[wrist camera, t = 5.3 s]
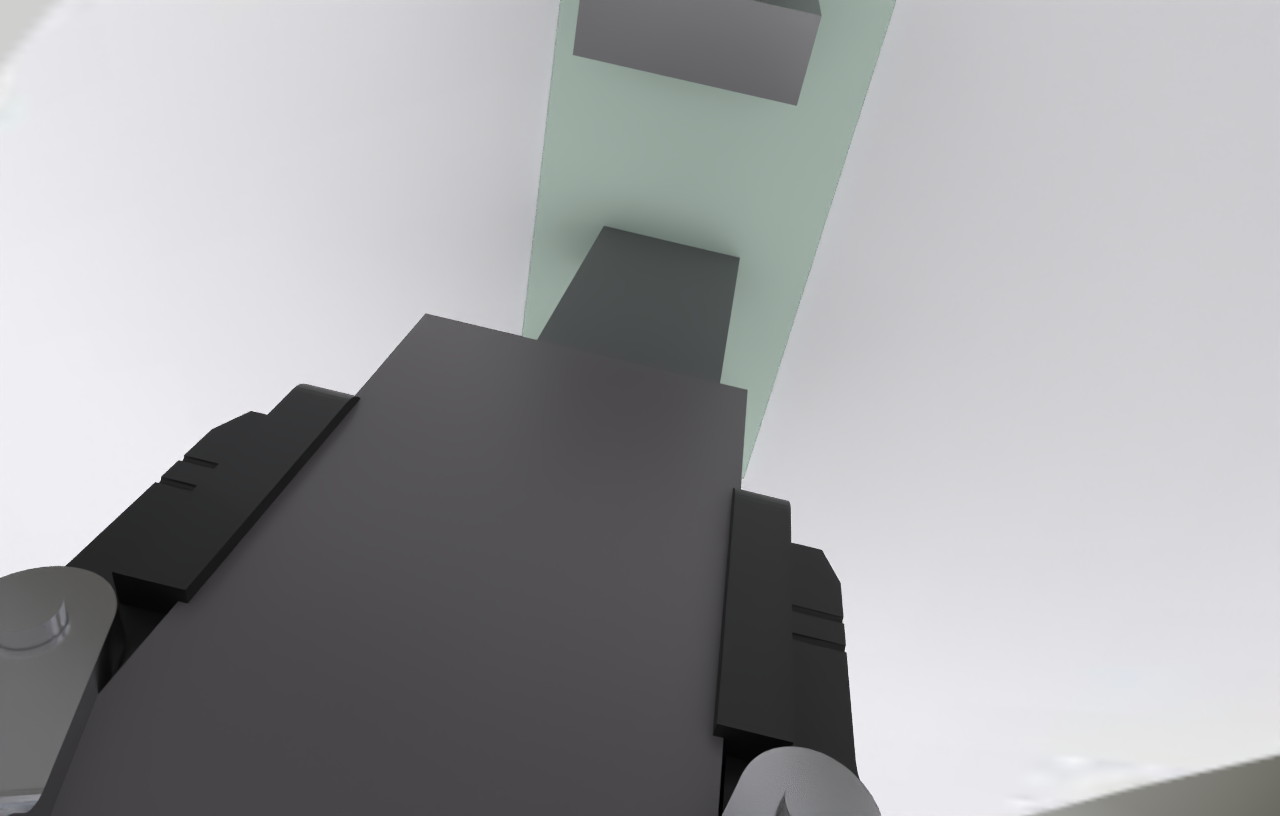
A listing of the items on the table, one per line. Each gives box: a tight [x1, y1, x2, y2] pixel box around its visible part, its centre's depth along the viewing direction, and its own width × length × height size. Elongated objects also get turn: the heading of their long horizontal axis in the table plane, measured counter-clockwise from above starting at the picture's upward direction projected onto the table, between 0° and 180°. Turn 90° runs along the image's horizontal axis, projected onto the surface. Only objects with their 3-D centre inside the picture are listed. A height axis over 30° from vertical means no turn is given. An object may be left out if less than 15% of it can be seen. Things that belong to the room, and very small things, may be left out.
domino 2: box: [573, 0, 822, 106], centre depth 21 cm, size 5×2×9 cm, turn 80°
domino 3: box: [537, 226, 740, 383], centre depth 26 cm, size 5×2×9 cm, turn 80°
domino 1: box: [50, 314, 748, 816], centre depth 9 cm, size 5×2×9 cm, turn 80°
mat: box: [522, 0, 896, 478], centre depth 27 cm, size 10×26×1 cm, turn 170°
